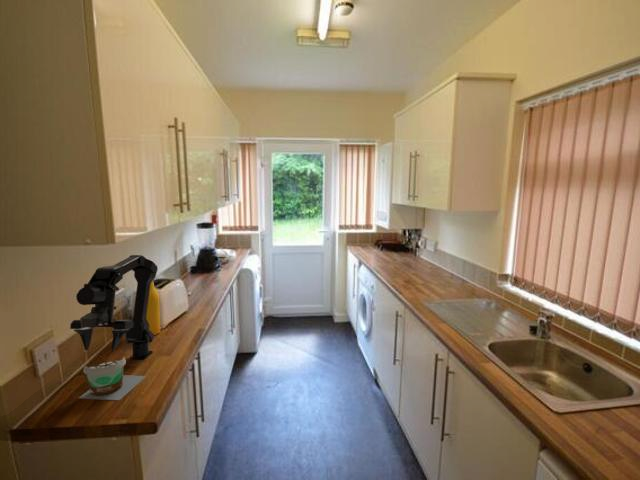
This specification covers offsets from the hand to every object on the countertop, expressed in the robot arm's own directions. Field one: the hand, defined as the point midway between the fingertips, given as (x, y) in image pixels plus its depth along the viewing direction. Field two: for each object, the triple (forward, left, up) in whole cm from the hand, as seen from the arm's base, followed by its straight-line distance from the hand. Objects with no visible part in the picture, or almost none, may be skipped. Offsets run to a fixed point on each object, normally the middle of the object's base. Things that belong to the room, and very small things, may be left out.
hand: (99, 350), depth 115 cm
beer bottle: (-48, -12, -14) cm, 51 cm away
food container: (+2, +3, -14) cm, 14 cm away
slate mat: (-1, +3, -14) cm, 14 cm away
